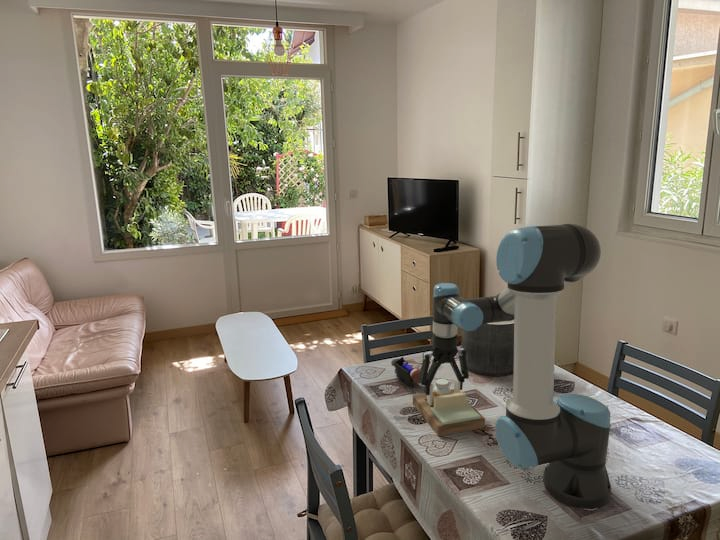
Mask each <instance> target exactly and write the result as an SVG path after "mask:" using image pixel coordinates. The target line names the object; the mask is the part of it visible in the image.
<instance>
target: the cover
mask: <svg viewBox="0 0 720 540" xmlns="http://www.w3.org/2000/svg"><path fill="white" fill-rule="evenodd" d="M466 400H467V393H466V392H465V391H460V393H454V394H448V395H441V396H435V397H434V407H431V408H430V410H431V411H432V412H433V414H434V415H435V416H436V417H437V418H438V420H439V421H440V422H441V423H442V424H443V425H445V424H451V423H457V422H463V421H469V420H475V419H480V415H479V414H478V413H477V412H476V411H475V410H474V409H473V408H472V407H471V406H470V405H469V404H468V403H467V402H466Z"/></svg>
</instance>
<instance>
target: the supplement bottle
mask: <svg viewBox="0 0 720 540" xmlns="http://www.w3.org/2000/svg"><path fill="white" fill-rule="evenodd" d="M433 392H434V397H435V396H441V395H448V394H451V388H450V381H449V380H448V379H445V378H439V379H437V380H436V381H435V386H434V387H433Z"/></svg>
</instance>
